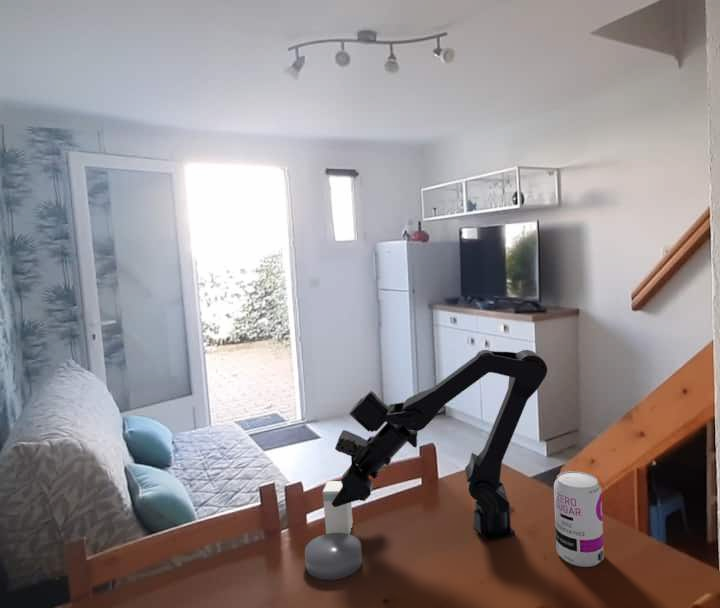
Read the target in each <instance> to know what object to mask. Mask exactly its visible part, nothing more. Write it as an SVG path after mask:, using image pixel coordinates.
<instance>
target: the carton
mask: <svg viewBox="0 0 720 608" xmlns="http://www.w3.org/2000/svg"><path fill="white" fill-rule="evenodd" d="M341 488H342V483H341V480H338V481H337V480H335V481H334V480H333V481H332V480H328V481H326V483H325V485H324V488H323V490H322V498H323V510H324V511H323V513H324V524H325V534H329V533H346V534H350V535H351V532H352V529H351V528H353V525H354V524H353V523H354V522H353V521H354V520H353V511H352V510H353V509H352V502H350V503H347V504H344V505H341V506H338V507H334V506H333V505H332V502H333V500H334V499H335V497H336V495H337V494H338V492H339V491H340V489H341ZM352 524H353V525H352Z"/></svg>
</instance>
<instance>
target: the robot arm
mask: <svg viewBox="0 0 720 608" xmlns="http://www.w3.org/2000/svg"><path fill="white" fill-rule="evenodd" d="M489 373H492V374H496V375H502V376H504V377H505V376H507V377H509V378H508V383H507V385H508V386H507V391H506V393H505V396H504V399H503V400H502V403H501V406H500V407H499V411H498V412H497V415H496V417H495V421H494V422H493V424H492V427H491V429H490V433H489V435H488V437H487V440H486V442H485V445H484V447H483V449H482V450H481V452H480V453H478V454H475V453H474V452H472V453H471V455H470V459H469V462H468V464H467V465H466V466H465V467H464V470H465V477H466V482H467V487H468V488H467V489H468V493H469V494H470V497H472V499H473V500H475V509H474V510H473V517H474V518H473V519H474V523H473V525H472V526H473V528H474V529H475V530H476V531H477V532H478V533H479V534H480V535H481V536H482V537H483V538H484V539H485V540H486V541H487V542H488V541H493V540H497V539H501V538H502V539H503V538H507V537H511V536H514V535H516V531H515V530H514V529H512V527H511V509H510V507H511V506H510V503H511V502H510V501H509V499H508V495H507V492H506V491H507V490H506V488H505V486H504V483H503V482H502V481H500V480H501V472H502V471H501V470H502V463H503V460H504V458H505V455H506V454H507V453H506V452H507V450H508V447H509V446H510V443H511V441H512V438H513V436H514V433H515V431H516V429H517V427H518V424H519V422H520V419H521V416H522V415H523V411H524V409H525V406H526V404H527V402H528V401H529V399H530V398H531V397H532V396H533V394H535V393H536V391H537V390H538V389H539V388H540V386H541V384H542V383H543V382H544V380H545V378H546V376H547V374H548V367H547V364H546V362H545V361H544V359H542V358H541V356H539V355H538V354H537V353H536V352H535V351H533V350H530V349H523V350H520V351H518V352H514V351H498V350H497V351H495V350H489V349H482V350H480V351H478V352H477V353H476V355H474V357H472V358H471V359H470V360H468V361H467V362H465V363H464V364H463V365H461V366H460V367H458V368H457V369H455V370H454V371H453V372H452V373H451V374H449V375H448V376H447V377H445V378H444V379H442V380H441V381H440V382H439V383H437V384H436V385H435V386H432V387H431V388H428V389H426V390H422V391H421V392H418V393H416V394H414V395H412V396H410V397H408V398H406V400H405V401H401V402H397V403H391V404H388V405H387V404H385V402H383V401H382V400H381V399H380V398H379V397H378V396H377V394H376V393H375V392H373V390H370V391H369V392H368V393H367V394H365V396H363V397H360V399H359V400H358V402H357V403H355V405H354V406H353V407H352V408H351V410H350V412H348V415H349V416H350V417H352V418H353V420H355V421H356V422H357V423H358V424H359V425H360V426H362V427H363V429H365V430H366V431H367V432H369V433H370V432H371V433H373V432H377V431H378V430H379V431H378V432H377V433H376V434H375V435H372V436H369V437H368V438H367V439H365V438H363V437H362V436H360V435H358V434H355V433H353V432H351V431H348V430H345V429H344V430H342V431H341V433H340V435H339V437H338V440H337V442H336V445H335V447H334V449H335V451H337V452H338V453H341V454H345V455H346V456H350V458H351V465H350V466H349V468H347V470H346V471H345V472H344V473H343V474H342V476H341V480H340V481H341V483H342V488H341V489H340V491H339V492H338V494H337V495H336V497H335V499H334V500H333V502H332V505H333V506H334V507H338V506H341V505H344V504H347V503H350V502H351V503H353V502H356V501H360V502H361V501H363V502H365V501H366V500H367V499H368V498H369V497H370V496H371V494H372V491H373V481H372V479H370V478H369V477H371V478H373V479H374V480H375V479H376V478H377V477H378V475H379V472H380V471H381V470H382V469H383V468H384V467H385V465H386V466H388V465H389V464H391V461H392V459H393V457H394V456H395V455H396V454H397V453H398V452H399V451H400V450H401V449H402V448H403V447H404V446H405V445H406V443H409V444H410V445H411V446H412V447H413V448H417V446H418V438H417V437H418V435H419V434H418V432H419V431H422V430H424V429H425V428H426V427H427V426H428V424H430V423H431V421H432V420H434V419H435V417H436V416H437V415H438V414H439V412H440V410H441V409H442V408H443V407H444V406H445V405H446V404H448V403H449V402H450V401H452V400H453V399H454V398H456V397H457V396H458V395H460V394H461V393H463V392H464V391H465V390H467V389H468V388H470V387H471V386H472V385H474V384H475V383H477V382H478V381H479V380H481V378H483V377H484V376H486V375H487V374H489ZM385 423H386V424H385ZM384 424H385V425H384ZM383 425H384V426H383ZM382 426H383V427H382Z"/></svg>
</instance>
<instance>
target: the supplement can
mask: <svg viewBox="0 0 720 608" xmlns="http://www.w3.org/2000/svg"><path fill="white" fill-rule="evenodd" d="M602 495H603V494H602V487H601V485H600V483H599V481H598V479H597V478H596V477H595V476H594V475H591V474H589V473H586V472H583V471H582V472H581V471H564V472H561V473H559V474H558V475H557V476H556V479H555V481H554V483H553V499H554V520H555V521H554V523H555V546H556V547H555V548H556V552H557V554H558V556H560V558H561V559H562V560H564V562H567V563H568V564H570V565H573V566H576V567H580V568H581V567H583V568H588V567H589V568H590V567H595V566H597V565H599V564H600V563H601V562H603V560H604V558H605V556H604V529H603V528H604V527H603V525H604V524H603V496H602Z"/></svg>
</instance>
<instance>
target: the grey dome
mask: <svg viewBox="0 0 720 608" xmlns="http://www.w3.org/2000/svg"><path fill="white" fill-rule="evenodd" d="M362 555H363V554H362V543H361V541H360V540H359V539H358V538H357V537H356V536H354V535H352V534H351V533H350V534H346V533H329V534H326V533H325V534H322V535H319V536H317V537H314V538H313V539H312V540H310V541H309V542H308V543H307V545H305V549H304V561H305V568H306V571H307V573H308V574H309V575H310V576H312V577H313V578H316V579H319V580H325V581H333V580H334V581H335V580H340V579H344V578H347V577H349V576H352V575H353V574H355V573H356V572H357V571H358V570H359V569H360V568H361V566H362V563H363V556H362Z"/></svg>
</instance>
